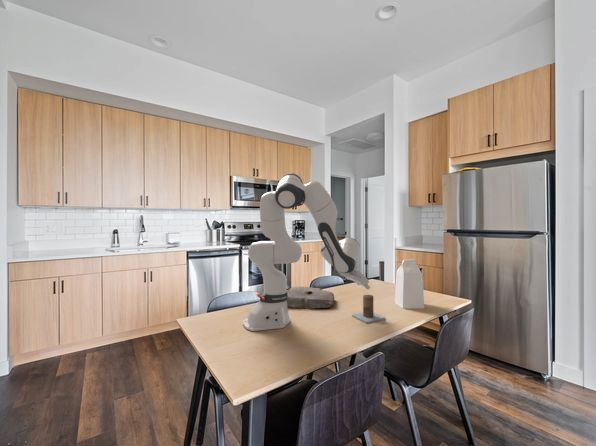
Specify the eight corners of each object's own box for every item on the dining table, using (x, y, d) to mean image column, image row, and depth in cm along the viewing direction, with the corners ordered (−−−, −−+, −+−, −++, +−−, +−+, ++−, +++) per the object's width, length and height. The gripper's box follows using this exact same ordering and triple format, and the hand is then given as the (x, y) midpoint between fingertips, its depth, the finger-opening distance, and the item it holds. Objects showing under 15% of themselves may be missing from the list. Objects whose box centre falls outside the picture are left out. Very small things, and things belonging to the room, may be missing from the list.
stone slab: (277, 308, 154) (277, 297, 154) (289, 294, 183) (289, 284, 183) (333, 311, 148) (333, 299, 148) (335, 296, 177) (335, 286, 177)
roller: (367, 318, 134) (367, 297, 134) (361, 315, 138) (360, 295, 138) (375, 316, 136) (375, 296, 136) (368, 313, 140) (368, 294, 140)
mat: (366, 323, 129) (366, 321, 129) (351, 316, 139) (351, 314, 139) (385, 319, 135) (385, 317, 135) (370, 312, 145) (370, 311, 144)
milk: (414, 302, 162) (414, 258, 162) (424, 308, 151) (424, 261, 151) (394, 302, 162) (394, 258, 162) (402, 308, 151) (402, 261, 150)
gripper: (359, 266, 126) (378, 286, 128) (342, 259, 146) (358, 277, 148) (350, 276, 125) (370, 296, 127) (334, 268, 145) (351, 285, 147)
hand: (364, 285), depth 138 cm, fingers open, 8 cm apart
